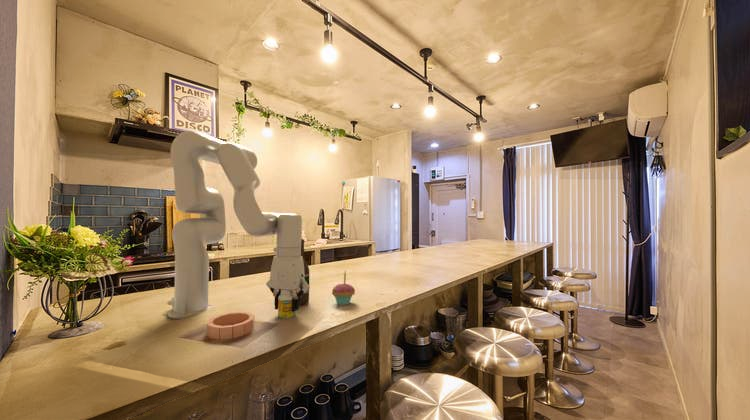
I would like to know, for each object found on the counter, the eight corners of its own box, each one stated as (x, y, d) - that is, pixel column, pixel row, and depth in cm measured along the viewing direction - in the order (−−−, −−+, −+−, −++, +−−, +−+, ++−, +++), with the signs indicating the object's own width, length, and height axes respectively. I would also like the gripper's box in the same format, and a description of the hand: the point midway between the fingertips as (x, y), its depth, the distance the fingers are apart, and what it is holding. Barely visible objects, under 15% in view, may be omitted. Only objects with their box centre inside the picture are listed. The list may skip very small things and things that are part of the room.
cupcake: (335, 299, 109) (336, 268, 109) (356, 300, 108) (357, 269, 108) (329, 306, 101) (329, 273, 101) (352, 307, 100) (352, 274, 100)
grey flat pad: (177, 341, 72) (177, 336, 72) (222, 320, 86) (222, 316, 86) (242, 352, 67) (242, 347, 67) (278, 327, 81) (278, 323, 81)
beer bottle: (306, 306, 100) (307, 240, 100) (284, 306, 100) (285, 240, 100) (311, 300, 108) (312, 238, 108) (291, 299, 108) (292, 238, 108)
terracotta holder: (196, 336, 73) (197, 324, 73) (229, 320, 84) (230, 310, 84) (233, 341, 70) (233, 329, 70) (262, 324, 81) (262, 314, 81)
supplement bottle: (292, 314, 92) (293, 285, 92) (297, 319, 87) (298, 289, 87) (275, 316, 89) (276, 286, 89) (280, 322, 84) (281, 291, 84)
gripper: (257, 252, 87) (255, 310, 87) (307, 255, 82) (305, 316, 82) (272, 249, 94) (270, 302, 94) (318, 252, 90) (316, 308, 89)
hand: (286, 308), depth 88 cm, fingers closed on supplement bottle, 5 cm apart
